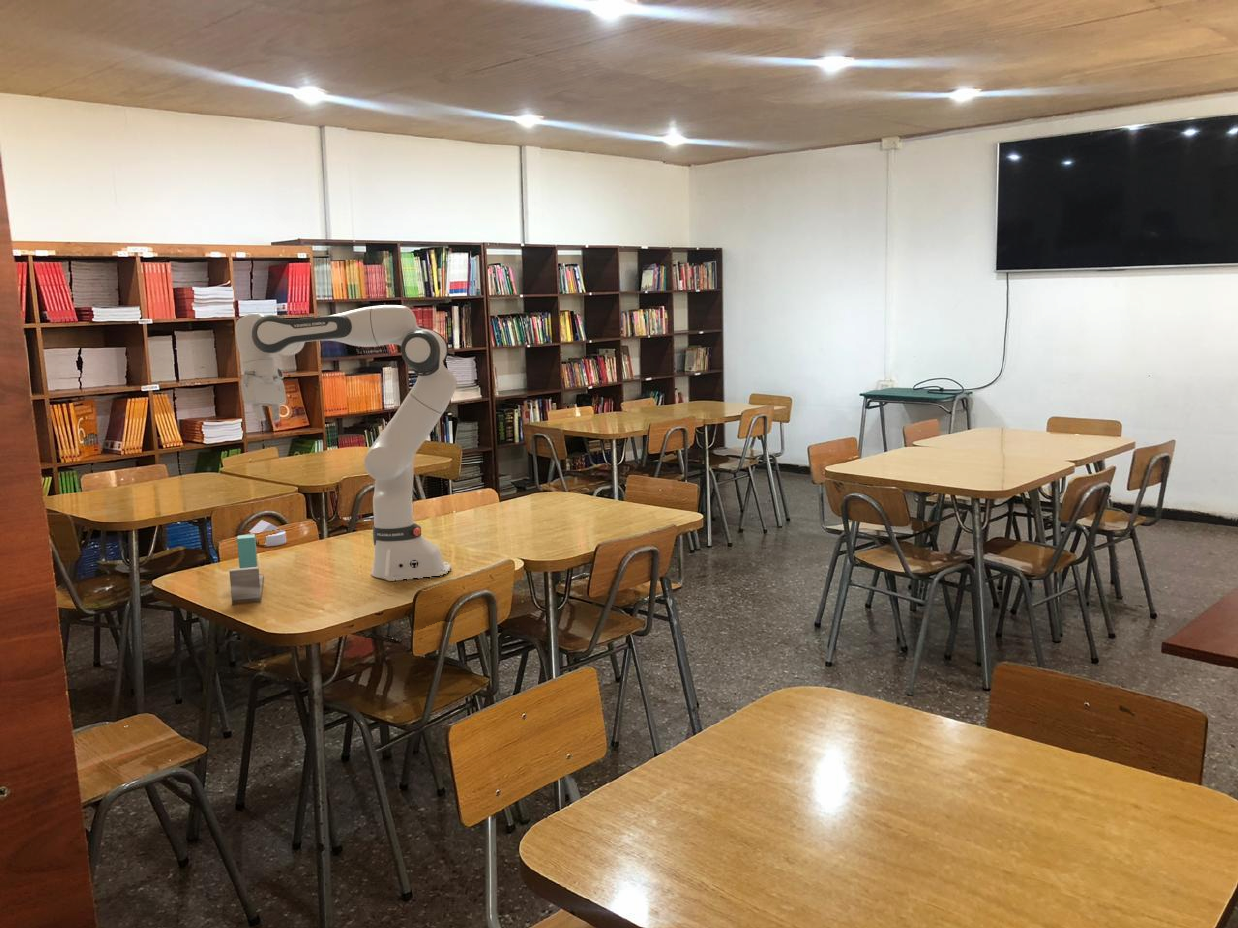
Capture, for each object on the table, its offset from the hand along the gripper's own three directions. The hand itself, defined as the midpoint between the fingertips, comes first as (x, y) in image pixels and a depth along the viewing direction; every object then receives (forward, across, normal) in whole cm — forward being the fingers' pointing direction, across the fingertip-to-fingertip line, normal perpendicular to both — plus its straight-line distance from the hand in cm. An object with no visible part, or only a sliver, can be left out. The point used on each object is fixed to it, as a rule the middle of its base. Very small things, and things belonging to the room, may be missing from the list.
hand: (269, 421), depth 265 cm
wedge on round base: (+35, +50, +30) cm, 69 cm away
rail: (+45, -8, +12) cm, 47 cm away
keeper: (+42, -1, +14) cm, 45 cm away
